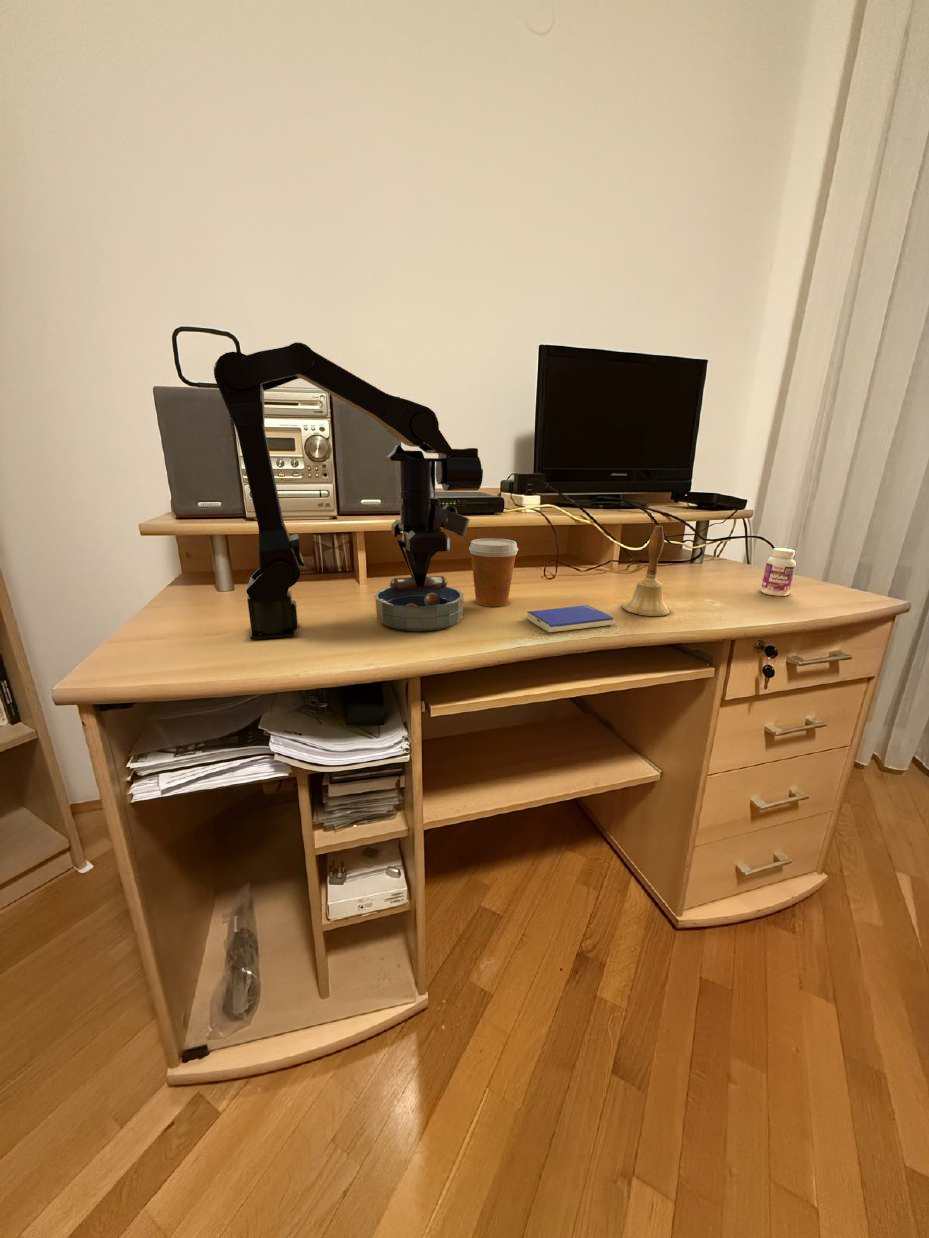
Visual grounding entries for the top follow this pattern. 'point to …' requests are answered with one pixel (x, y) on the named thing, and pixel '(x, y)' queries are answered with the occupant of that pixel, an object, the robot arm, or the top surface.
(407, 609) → the bowl
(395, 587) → the stick
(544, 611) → the hard drive
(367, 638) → the top surface
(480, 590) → the disposable coffee cup
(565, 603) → the top surface
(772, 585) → the pill bottle
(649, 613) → the hand bell
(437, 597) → the glossy brown ball
